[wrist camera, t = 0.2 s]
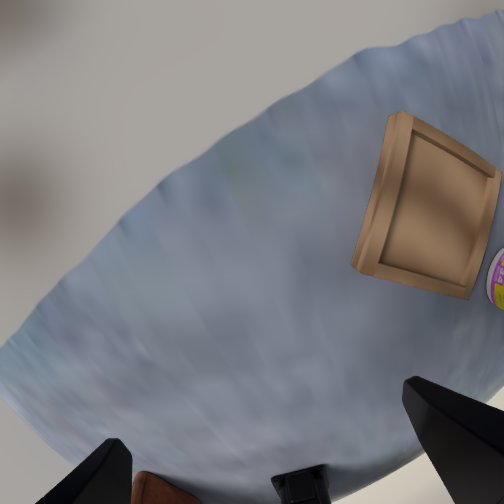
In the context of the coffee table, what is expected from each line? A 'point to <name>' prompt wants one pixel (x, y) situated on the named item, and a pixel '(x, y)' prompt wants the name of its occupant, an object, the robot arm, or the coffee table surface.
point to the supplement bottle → (496, 280)
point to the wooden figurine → (158, 491)
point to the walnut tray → (427, 210)
